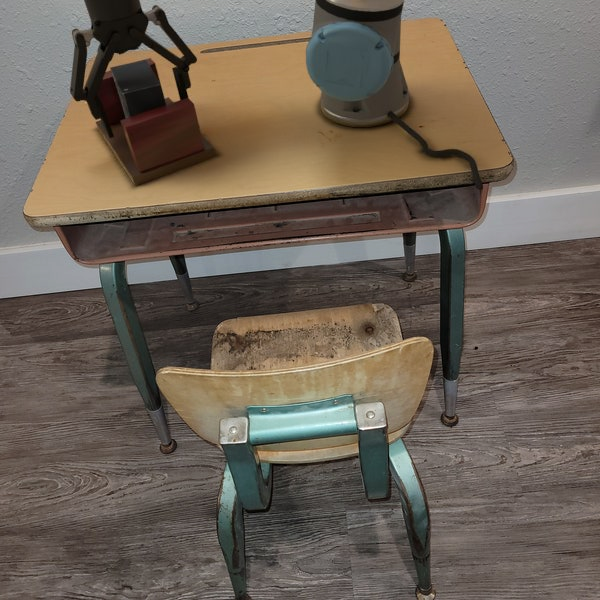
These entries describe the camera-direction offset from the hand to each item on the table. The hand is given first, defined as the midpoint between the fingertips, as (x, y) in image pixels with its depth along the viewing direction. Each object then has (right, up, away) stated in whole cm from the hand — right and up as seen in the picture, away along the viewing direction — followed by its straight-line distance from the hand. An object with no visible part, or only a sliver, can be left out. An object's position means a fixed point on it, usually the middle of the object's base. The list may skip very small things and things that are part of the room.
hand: (148, 120), depth 99 cm
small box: (0, -2, +2) cm, 3 cm away
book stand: (0, -3, +3) cm, 4 cm away
